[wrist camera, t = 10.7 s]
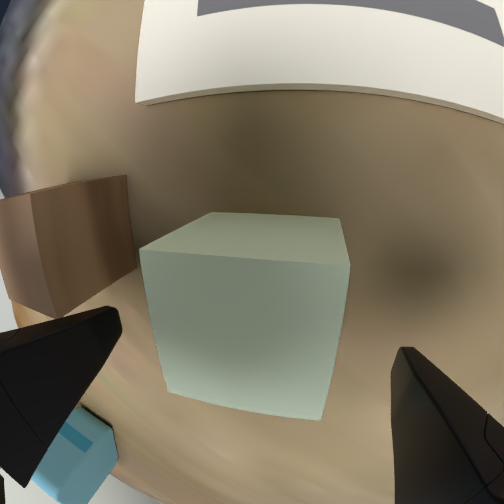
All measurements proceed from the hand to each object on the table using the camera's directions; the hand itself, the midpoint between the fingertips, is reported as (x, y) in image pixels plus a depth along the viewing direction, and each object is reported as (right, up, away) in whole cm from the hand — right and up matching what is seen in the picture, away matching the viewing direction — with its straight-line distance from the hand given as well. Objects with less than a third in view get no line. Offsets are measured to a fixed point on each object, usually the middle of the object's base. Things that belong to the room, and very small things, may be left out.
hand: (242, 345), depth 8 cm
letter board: (+5, +18, -2) cm, 19 cm away
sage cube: (+1, +2, +5) cm, 5 cm away
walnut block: (-8, +4, +6) cm, 11 cm away
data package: (-18, -20, +17) cm, 32 cm away
